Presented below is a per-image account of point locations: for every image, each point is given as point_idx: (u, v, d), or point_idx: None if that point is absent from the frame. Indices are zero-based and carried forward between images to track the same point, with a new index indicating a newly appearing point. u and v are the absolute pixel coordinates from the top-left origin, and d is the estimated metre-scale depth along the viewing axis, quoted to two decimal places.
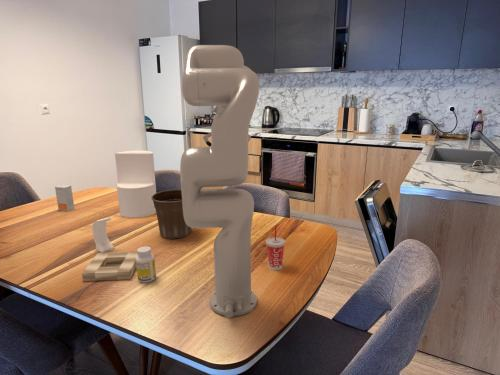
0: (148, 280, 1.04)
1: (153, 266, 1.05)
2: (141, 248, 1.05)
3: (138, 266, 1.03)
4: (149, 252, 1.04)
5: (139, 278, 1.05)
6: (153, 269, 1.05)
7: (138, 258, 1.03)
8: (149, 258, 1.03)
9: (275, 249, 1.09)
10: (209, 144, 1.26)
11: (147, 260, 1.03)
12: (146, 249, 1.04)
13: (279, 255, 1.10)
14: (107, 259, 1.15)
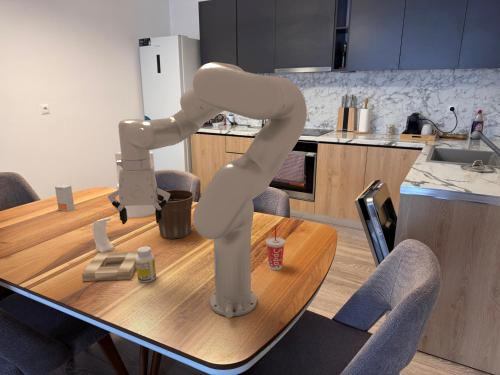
0: (148, 280, 1.04)
1: (153, 266, 1.05)
2: (141, 248, 1.05)
3: (138, 266, 1.03)
4: (149, 252, 1.04)
5: (139, 278, 1.05)
6: (153, 269, 1.05)
7: (138, 258, 1.03)
8: (149, 258, 1.03)
9: (275, 249, 1.09)
10: (116, 205, 1.00)
11: (147, 260, 1.03)
12: (146, 249, 1.04)
13: (279, 255, 1.10)
14: (107, 259, 1.15)
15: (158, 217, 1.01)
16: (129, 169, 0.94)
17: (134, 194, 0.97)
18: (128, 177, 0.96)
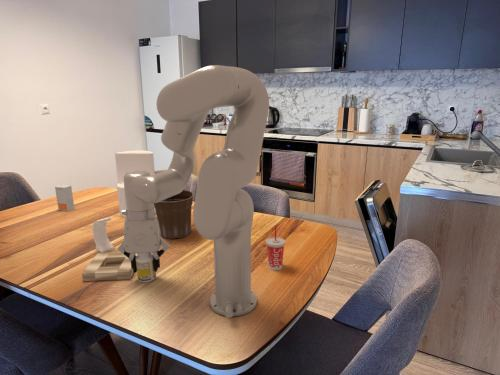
0: (148, 280, 1.04)
1: (153, 266, 1.05)
2: None
3: (138, 266, 1.03)
4: (149, 252, 1.04)
5: (139, 278, 1.05)
6: (153, 269, 1.05)
7: (138, 258, 1.03)
8: (149, 258, 1.03)
9: (275, 249, 1.09)
10: (128, 255, 1.04)
11: (147, 260, 1.03)
12: None
13: (279, 255, 1.10)
14: (107, 259, 1.15)
15: (156, 266, 1.05)
16: (134, 219, 0.98)
17: (139, 242, 1.01)
18: (133, 227, 0.99)
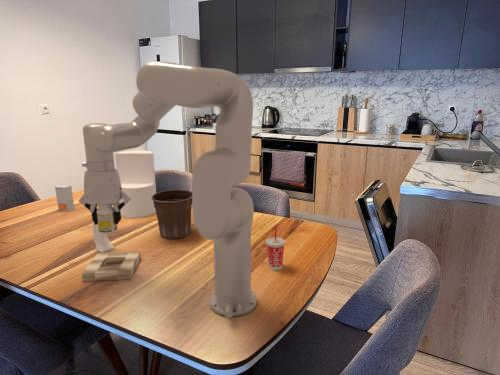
0: (108, 232, 1.07)
1: None
2: None
3: (98, 217, 1.06)
4: (110, 204, 1.06)
5: (100, 230, 1.07)
6: None
7: (99, 210, 1.06)
8: (109, 210, 1.06)
9: (275, 249, 1.09)
10: (88, 207, 1.06)
11: (107, 211, 1.06)
12: None
13: (279, 255, 1.10)
14: (107, 259, 1.15)
15: (116, 218, 1.07)
16: (93, 170, 1.01)
17: (98, 193, 1.03)
18: (92, 178, 1.02)
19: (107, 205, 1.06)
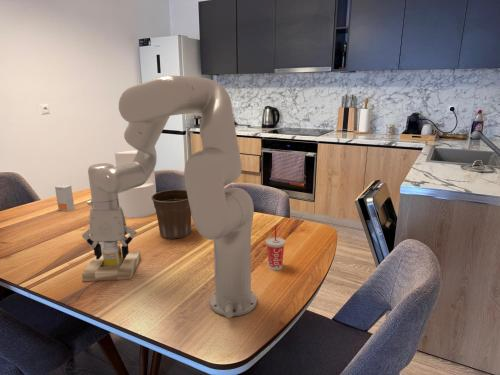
0: None
1: (119, 256, 1.11)
2: None
3: (104, 256, 1.09)
4: (115, 243, 1.10)
5: None
6: (119, 259, 1.11)
7: (104, 249, 1.09)
8: (115, 249, 1.09)
9: (275, 249, 1.09)
10: (90, 242, 1.09)
11: (113, 250, 1.09)
12: None
13: (279, 255, 1.10)
14: None
15: (124, 253, 1.10)
16: (98, 209, 1.04)
17: (103, 231, 1.06)
18: (98, 216, 1.05)
19: (113, 244, 1.09)
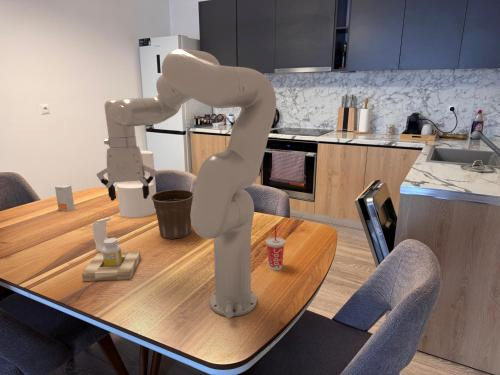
0: None
1: (119, 256, 1.11)
2: (107, 240, 1.10)
3: (104, 256, 1.09)
4: (115, 243, 1.10)
5: None
6: (119, 259, 1.11)
7: (104, 249, 1.09)
8: (115, 249, 1.09)
9: (275, 249, 1.09)
10: (105, 182, 1.05)
11: (113, 250, 1.09)
12: (112, 240, 1.10)
13: (279, 255, 1.10)
14: None
15: (145, 193, 1.07)
16: (116, 146, 1.00)
17: (121, 171, 1.03)
18: (115, 154, 1.01)
19: (113, 244, 1.09)
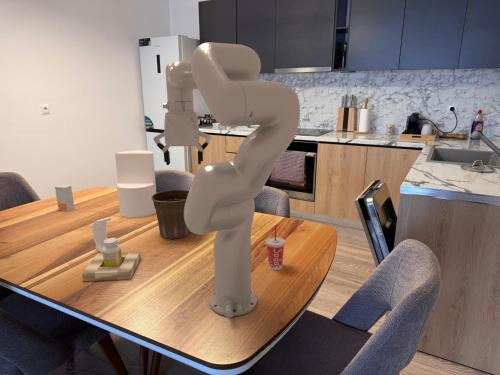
0: None
1: (119, 256, 1.11)
2: (108, 240, 1.10)
3: (104, 256, 1.09)
4: (115, 243, 1.10)
5: None
6: (119, 259, 1.11)
7: (104, 249, 1.09)
8: (115, 249, 1.09)
9: (275, 249, 1.09)
10: (161, 146, 1.06)
11: (113, 251, 1.09)
12: (112, 240, 1.10)
13: (279, 255, 1.10)
14: None
15: (200, 158, 1.07)
16: (175, 110, 1.01)
17: (179, 135, 1.03)
18: (174, 118, 1.02)
19: (113, 244, 1.09)
